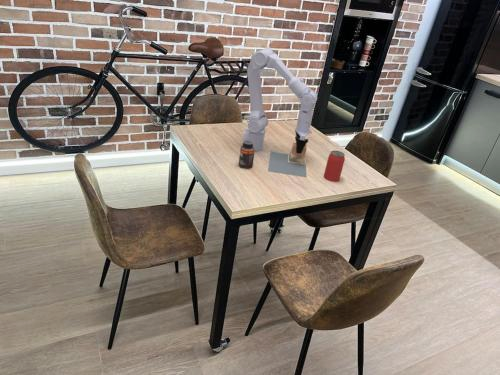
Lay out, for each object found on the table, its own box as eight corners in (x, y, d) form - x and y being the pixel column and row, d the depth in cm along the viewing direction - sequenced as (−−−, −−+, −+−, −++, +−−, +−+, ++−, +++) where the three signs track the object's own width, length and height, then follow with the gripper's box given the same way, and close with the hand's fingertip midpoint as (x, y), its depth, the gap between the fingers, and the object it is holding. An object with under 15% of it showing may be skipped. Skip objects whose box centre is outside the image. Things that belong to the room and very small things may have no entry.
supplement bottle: (254, 166, 159) (257, 141, 153) (249, 171, 154) (253, 146, 148) (241, 162, 160) (244, 138, 155) (236, 168, 155) (239, 142, 150)
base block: (289, 161, 166) (291, 155, 164) (290, 155, 171) (291, 149, 169) (303, 163, 165) (304, 157, 164) (303, 158, 171) (304, 151, 169)
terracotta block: (291, 154, 165) (292, 145, 163) (291, 150, 168) (293, 142, 167) (304, 156, 165) (306, 148, 163) (304, 152, 168) (306, 144, 166)
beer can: (329, 184, 153) (336, 157, 147) (320, 176, 158) (326, 150, 152) (342, 182, 156) (349, 156, 150) (332, 175, 161) (339, 149, 155)
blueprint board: (267, 172, 155) (267, 170, 154) (270, 152, 173) (270, 150, 173) (306, 178, 154) (306, 176, 154) (304, 158, 173) (305, 156, 172)
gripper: (314, 127, 153) (308, 157, 159) (313, 116, 165) (307, 144, 172) (297, 124, 153) (291, 155, 159) (297, 113, 166) (291, 142, 172)
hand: (298, 149), depth 166 cm, fingers open, 7 cm apart
